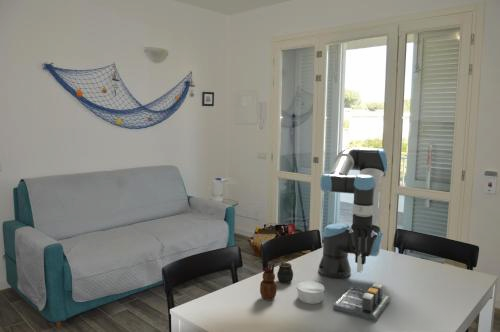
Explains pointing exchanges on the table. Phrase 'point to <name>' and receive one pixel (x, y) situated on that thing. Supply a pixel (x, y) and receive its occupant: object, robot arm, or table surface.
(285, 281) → the mate gourd
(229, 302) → the table surface
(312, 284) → the ramekin
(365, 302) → the breaker near
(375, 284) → the block
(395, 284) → the table surface
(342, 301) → the panel
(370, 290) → the block
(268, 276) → the wooden figurine
